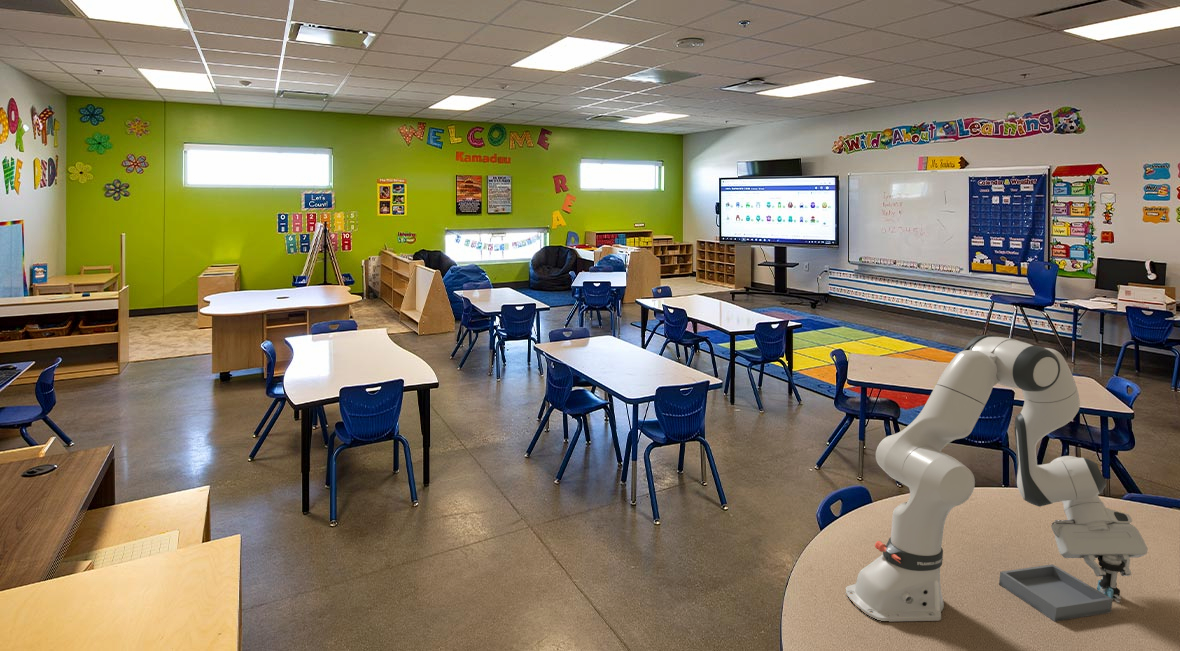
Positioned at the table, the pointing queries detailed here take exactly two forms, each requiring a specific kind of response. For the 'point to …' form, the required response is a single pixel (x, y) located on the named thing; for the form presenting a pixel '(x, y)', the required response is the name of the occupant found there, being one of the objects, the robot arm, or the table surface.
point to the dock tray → (1055, 592)
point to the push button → (1110, 575)
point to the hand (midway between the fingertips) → (1114, 575)
